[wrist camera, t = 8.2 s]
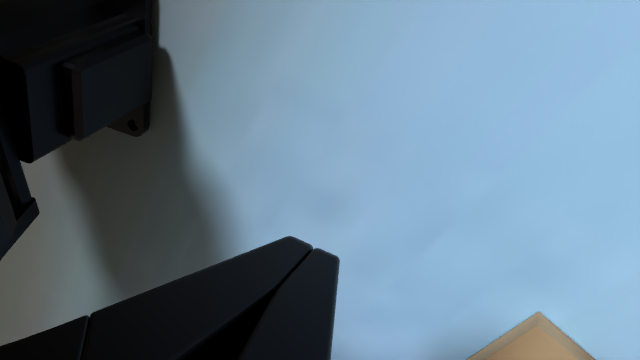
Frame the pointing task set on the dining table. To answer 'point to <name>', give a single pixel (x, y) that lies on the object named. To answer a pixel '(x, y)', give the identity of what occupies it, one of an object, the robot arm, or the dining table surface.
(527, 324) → the level stand
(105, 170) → the dining table surface
